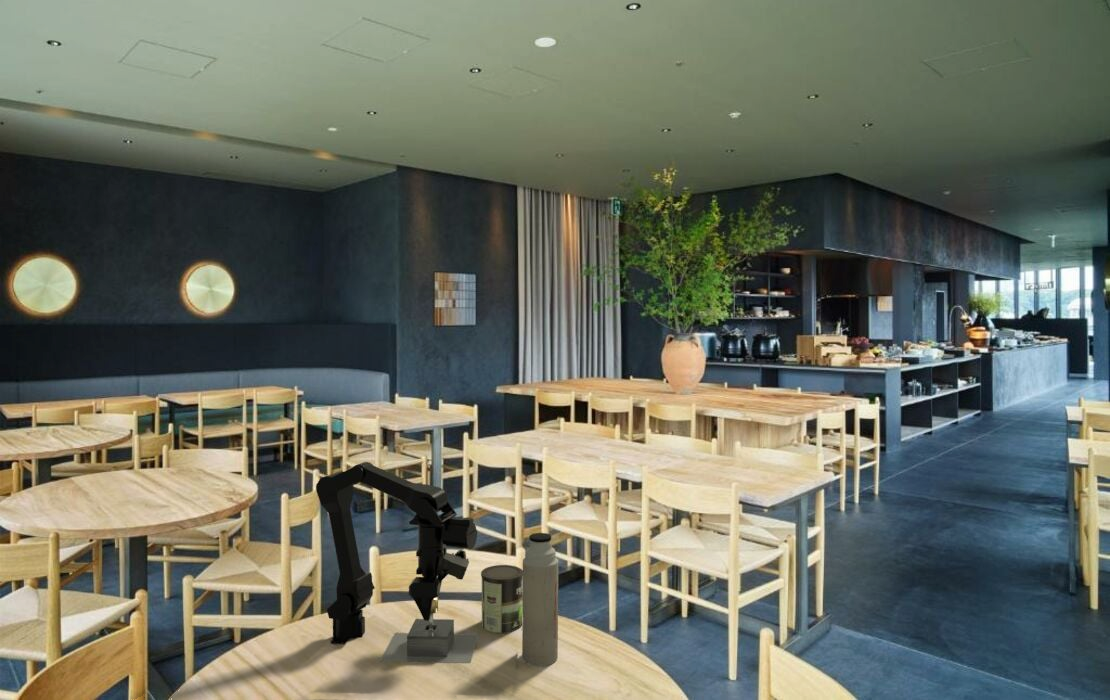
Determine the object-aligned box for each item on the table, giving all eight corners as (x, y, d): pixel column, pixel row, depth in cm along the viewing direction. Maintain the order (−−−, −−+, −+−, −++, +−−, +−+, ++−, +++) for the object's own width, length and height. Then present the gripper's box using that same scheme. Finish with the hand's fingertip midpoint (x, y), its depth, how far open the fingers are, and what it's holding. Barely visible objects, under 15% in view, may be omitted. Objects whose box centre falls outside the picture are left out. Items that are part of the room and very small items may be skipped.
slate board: (379, 665, 157) (379, 661, 157) (395, 637, 171) (395, 632, 171) (470, 667, 157) (470, 662, 157) (478, 638, 171) (478, 634, 171)
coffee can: (524, 619, 182) (524, 564, 181) (521, 637, 171) (521, 579, 171) (483, 618, 182) (483, 564, 181) (478, 637, 171) (478, 579, 171)
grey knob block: (407, 656, 159) (406, 636, 159) (415, 638, 168) (415, 618, 168) (447, 657, 159) (447, 636, 159) (453, 638, 168) (453, 619, 168)
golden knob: (421, 637, 162) (421, 601, 161) (424, 630, 165) (424, 594, 165) (437, 637, 162) (437, 601, 161) (440, 630, 165) (440, 594, 165)
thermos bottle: (560, 651, 164) (561, 531, 163) (553, 668, 157) (554, 542, 155) (526, 647, 166) (527, 528, 165) (518, 664, 158) (519, 539, 157)
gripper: (460, 558, 153) (459, 630, 154) (471, 532, 172) (471, 596, 173) (408, 558, 153) (408, 629, 154) (425, 531, 172) (425, 595, 173)
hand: (430, 611), depth 163 cm, fingers open, 9 cm apart
